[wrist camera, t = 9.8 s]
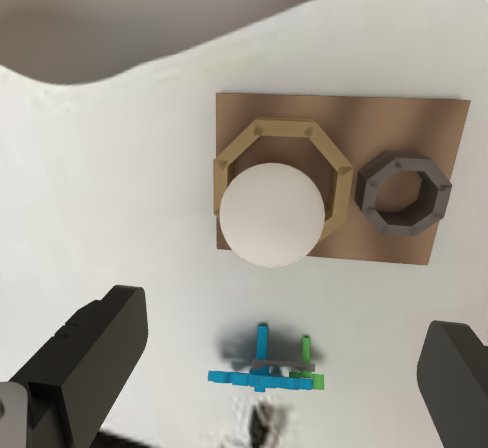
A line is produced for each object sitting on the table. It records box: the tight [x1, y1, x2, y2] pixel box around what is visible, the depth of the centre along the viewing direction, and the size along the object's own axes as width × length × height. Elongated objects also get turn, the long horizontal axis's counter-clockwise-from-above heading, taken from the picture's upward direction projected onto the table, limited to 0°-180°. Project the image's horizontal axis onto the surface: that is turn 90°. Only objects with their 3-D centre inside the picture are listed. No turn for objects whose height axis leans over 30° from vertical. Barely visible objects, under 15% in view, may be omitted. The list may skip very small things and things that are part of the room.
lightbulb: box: [220, 163, 325, 268], centre depth 22 cm, size 6×6×11 cm
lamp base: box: [213, 93, 471, 265], centre depth 26 cm, size 18×13×4 cm
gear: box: [208, 326, 324, 392], centre depth 33 cm, size 11×6×10 cm
